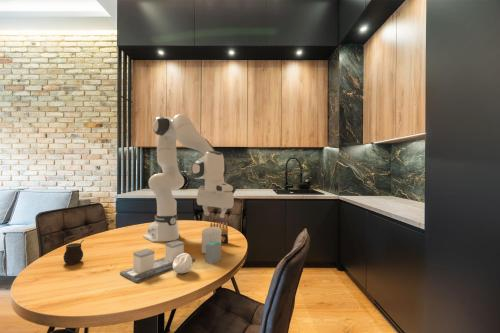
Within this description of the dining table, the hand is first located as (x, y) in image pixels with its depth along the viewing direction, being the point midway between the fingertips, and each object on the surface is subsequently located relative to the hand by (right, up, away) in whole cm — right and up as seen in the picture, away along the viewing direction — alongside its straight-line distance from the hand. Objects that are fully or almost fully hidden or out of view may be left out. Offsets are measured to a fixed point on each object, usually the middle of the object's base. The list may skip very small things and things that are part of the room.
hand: (214, 216), depth 116 cm
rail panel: (-22, -20, -8) cm, 31 cm away
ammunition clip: (-1, -21, +28) cm, 35 cm away
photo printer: (-3, -21, +13) cm, 25 cm away
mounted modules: (-22, -19, -8) cm, 30 cm away
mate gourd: (-61, -20, -4) cm, 65 cm away
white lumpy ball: (-11, -21, -13) cm, 27 cm away
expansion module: (0, -21, 0) cm, 21 cm away
